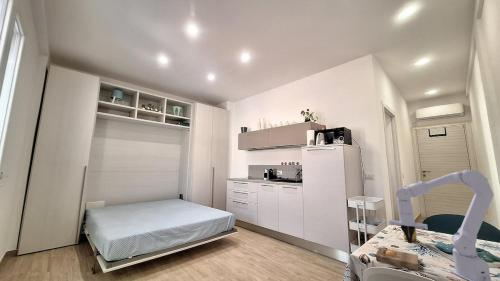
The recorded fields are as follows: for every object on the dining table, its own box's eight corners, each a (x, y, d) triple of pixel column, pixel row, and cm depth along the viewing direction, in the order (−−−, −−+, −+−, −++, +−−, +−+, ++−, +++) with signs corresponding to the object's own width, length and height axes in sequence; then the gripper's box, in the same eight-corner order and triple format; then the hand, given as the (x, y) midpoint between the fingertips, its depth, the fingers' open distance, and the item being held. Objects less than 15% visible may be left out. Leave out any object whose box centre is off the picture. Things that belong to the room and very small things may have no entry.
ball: (385, 258, 101) (395, 262, 99) (384, 255, 99) (394, 258, 97) (386, 251, 104) (395, 254, 101) (385, 247, 102) (395, 250, 99)
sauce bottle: (412, 243, 120) (407, 208, 123) (401, 239, 126) (397, 206, 128) (420, 241, 122) (415, 207, 124) (409, 238, 127) (405, 205, 130)
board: (418, 260, 98) (417, 254, 98) (418, 270, 89) (417, 264, 89) (379, 252, 108) (379, 247, 108) (376, 260, 99) (375, 255, 99)
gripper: (425, 213, 96) (429, 243, 94) (389, 210, 105) (392, 237, 104) (425, 216, 91) (430, 248, 89) (387, 212, 100) (391, 241, 98)
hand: (410, 242), depth 96 cm, fingers closed
